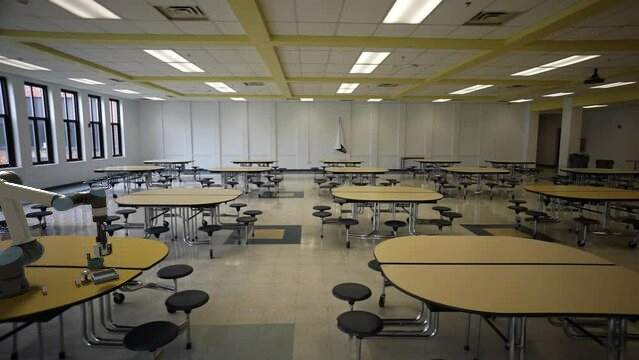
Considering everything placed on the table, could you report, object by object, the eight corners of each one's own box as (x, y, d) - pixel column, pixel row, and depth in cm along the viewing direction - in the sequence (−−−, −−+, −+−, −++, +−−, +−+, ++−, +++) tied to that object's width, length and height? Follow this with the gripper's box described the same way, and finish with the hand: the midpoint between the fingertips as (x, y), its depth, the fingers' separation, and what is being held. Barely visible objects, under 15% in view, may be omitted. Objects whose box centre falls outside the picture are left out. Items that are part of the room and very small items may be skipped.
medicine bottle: (99, 258, 193) (98, 238, 192) (93, 256, 197) (91, 236, 196) (112, 254, 199) (111, 234, 198) (106, 252, 203) (105, 233, 202)
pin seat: (43, 294, 178) (43, 292, 178) (42, 288, 186) (42, 285, 186) (80, 285, 189) (80, 283, 189) (78, 280, 196) (78, 277, 196)
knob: (82, 282, 193) (81, 273, 193) (80, 280, 197) (80, 271, 196) (91, 280, 196) (90, 271, 196) (90, 278, 200) (89, 269, 199)
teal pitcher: (104, 267, 216) (103, 254, 215) (86, 270, 211) (85, 256, 210) (104, 263, 223) (103, 250, 222) (87, 265, 219) (86, 252, 218)
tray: (94, 283, 192) (94, 279, 191) (91, 277, 201) (91, 273, 200) (119, 278, 200) (118, 274, 199) (114, 271, 209) (114, 268, 208)
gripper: (111, 216, 190) (114, 255, 193) (104, 210, 206) (107, 246, 208) (95, 218, 185) (98, 258, 188) (89, 212, 201) (92, 249, 204)
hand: (103, 252), depth 198 cm, fingers closed on medicine bottle, 8 cm apart
